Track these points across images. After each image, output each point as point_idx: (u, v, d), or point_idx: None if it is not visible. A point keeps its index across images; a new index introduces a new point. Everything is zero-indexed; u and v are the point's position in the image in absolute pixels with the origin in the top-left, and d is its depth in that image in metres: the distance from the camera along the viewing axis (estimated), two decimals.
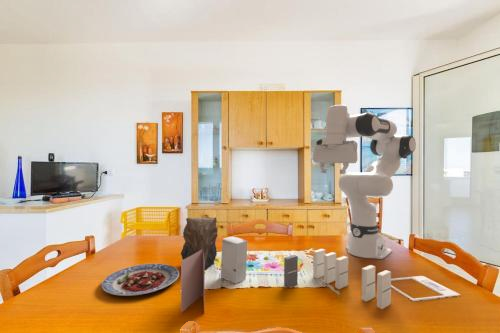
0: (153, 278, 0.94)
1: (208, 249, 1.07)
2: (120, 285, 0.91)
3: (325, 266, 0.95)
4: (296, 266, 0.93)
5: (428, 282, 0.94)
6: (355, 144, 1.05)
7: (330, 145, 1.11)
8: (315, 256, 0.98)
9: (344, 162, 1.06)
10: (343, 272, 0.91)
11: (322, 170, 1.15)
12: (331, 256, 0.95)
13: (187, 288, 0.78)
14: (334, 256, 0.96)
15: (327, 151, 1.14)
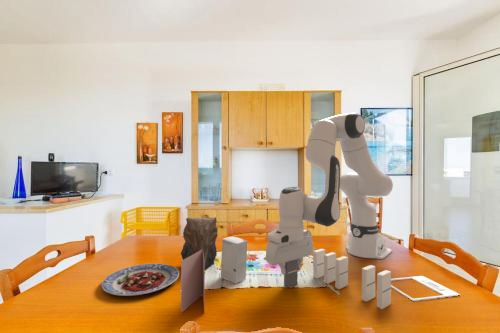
0: (153, 278, 0.94)
1: (208, 249, 1.07)
2: (120, 285, 0.91)
3: (325, 266, 0.95)
4: (296, 266, 0.93)
5: (428, 282, 0.94)
6: (310, 234, 0.98)
7: (297, 241, 0.90)
8: (315, 256, 0.98)
9: (305, 256, 0.95)
10: (343, 272, 0.91)
11: (285, 271, 0.90)
12: (331, 256, 0.95)
13: (187, 288, 0.78)
14: (334, 256, 0.96)
15: (288, 247, 0.90)
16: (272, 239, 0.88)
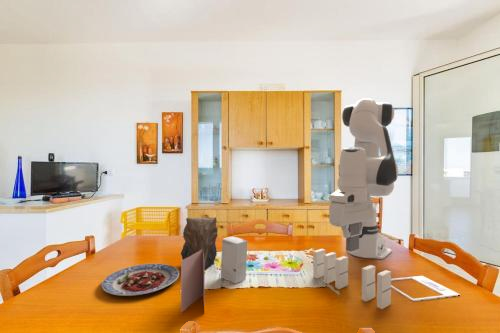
0: (153, 278, 0.94)
1: (208, 249, 1.07)
2: (120, 285, 0.91)
3: (325, 266, 0.95)
4: (358, 230, 0.88)
5: (428, 282, 0.94)
6: (370, 198, 0.93)
7: (361, 202, 0.85)
8: (315, 256, 0.98)
9: (366, 220, 0.90)
10: (343, 272, 0.91)
11: (349, 234, 0.85)
12: (331, 256, 0.95)
13: (187, 288, 0.78)
14: (334, 256, 0.96)
15: (352, 209, 0.85)
16: (336, 199, 0.83)
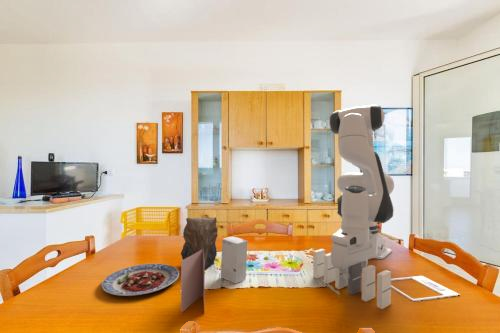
0: (153, 278, 0.94)
1: (208, 249, 1.07)
2: (120, 285, 0.91)
3: (325, 266, 0.95)
4: (360, 272, 0.88)
5: (427, 282, 0.94)
6: (371, 235, 0.93)
7: (363, 243, 0.85)
8: (315, 256, 0.98)
9: None
10: None
11: (348, 276, 0.84)
12: None
13: (187, 288, 0.78)
14: None
15: (354, 250, 0.85)
16: (339, 241, 0.82)
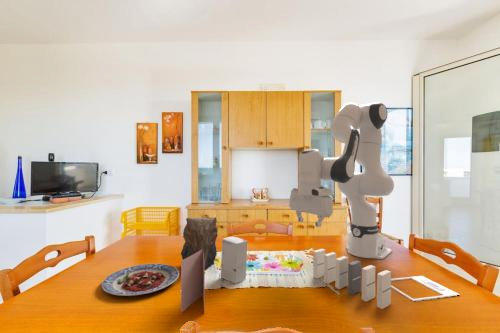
0: (153, 278, 0.94)
1: (208, 249, 1.07)
2: (120, 285, 0.91)
3: (325, 266, 0.95)
4: (360, 272, 0.88)
5: (427, 282, 0.94)
6: None
7: None
8: (315, 256, 0.98)
9: None
10: (343, 272, 0.91)
11: None
12: (331, 256, 0.95)
13: (187, 288, 0.78)
14: (334, 256, 0.96)
15: None
16: (327, 193, 0.97)
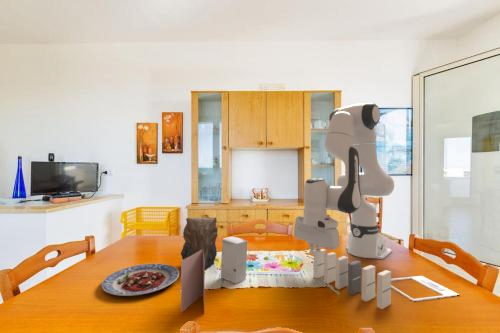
0: (153, 278, 0.94)
1: (208, 249, 1.07)
2: (120, 285, 0.91)
3: (325, 266, 0.95)
4: (360, 272, 0.88)
5: (427, 282, 0.94)
6: None
7: None
8: (316, 257, 0.98)
9: None
10: (343, 272, 0.91)
11: None
12: (331, 256, 0.95)
13: (187, 287, 0.78)
14: (334, 256, 0.96)
15: None
16: (333, 225, 0.95)
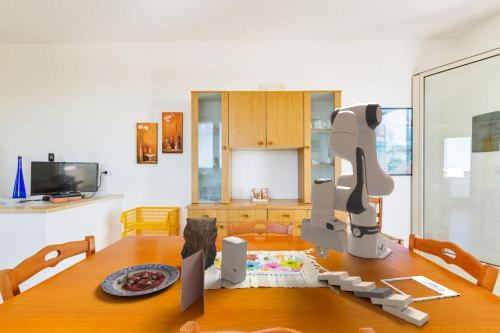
0: (153, 278, 0.94)
1: (208, 249, 1.07)
2: (120, 285, 0.91)
3: (341, 282, 0.89)
4: None
5: (427, 282, 0.94)
6: None
7: None
8: (335, 278, 0.91)
9: None
10: None
11: None
12: None
13: (187, 288, 0.78)
14: None
15: None
16: (343, 227, 0.92)
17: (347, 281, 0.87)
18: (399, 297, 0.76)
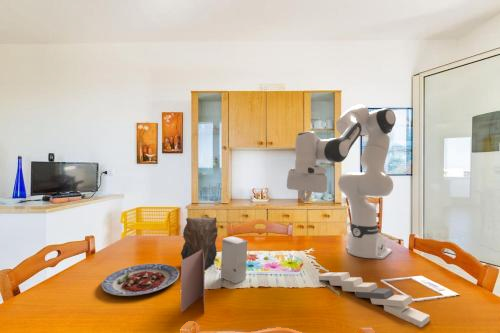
0: (153, 278, 0.94)
1: (208, 249, 1.07)
2: (120, 285, 0.91)
3: (343, 283, 0.88)
4: None
5: (427, 282, 0.94)
6: None
7: None
8: (336, 279, 0.90)
9: None
10: None
11: None
12: None
13: (187, 287, 0.78)
14: None
15: None
16: (322, 171, 1.04)
17: (348, 282, 0.87)
18: (399, 297, 0.76)
